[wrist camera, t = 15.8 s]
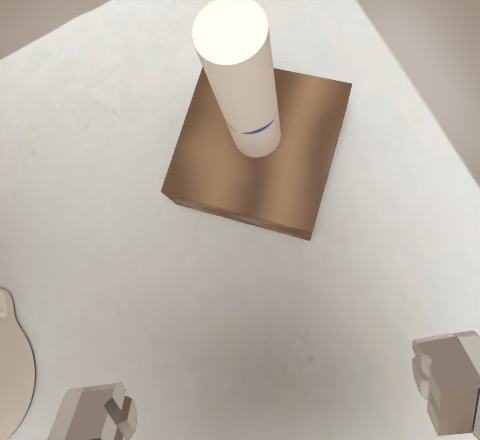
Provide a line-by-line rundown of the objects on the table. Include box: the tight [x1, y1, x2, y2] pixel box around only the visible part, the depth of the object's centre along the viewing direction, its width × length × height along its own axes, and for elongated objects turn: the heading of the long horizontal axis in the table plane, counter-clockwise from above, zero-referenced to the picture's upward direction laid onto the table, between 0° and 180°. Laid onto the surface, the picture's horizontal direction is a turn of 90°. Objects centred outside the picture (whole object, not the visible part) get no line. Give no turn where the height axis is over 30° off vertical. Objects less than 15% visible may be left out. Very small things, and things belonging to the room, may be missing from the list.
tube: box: [192, 0, 281, 158], centre depth 30 cm, size 4×4×15 cm
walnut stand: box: [161, 67, 352, 241], centre depth 40 cm, size 14×14×5 cm
